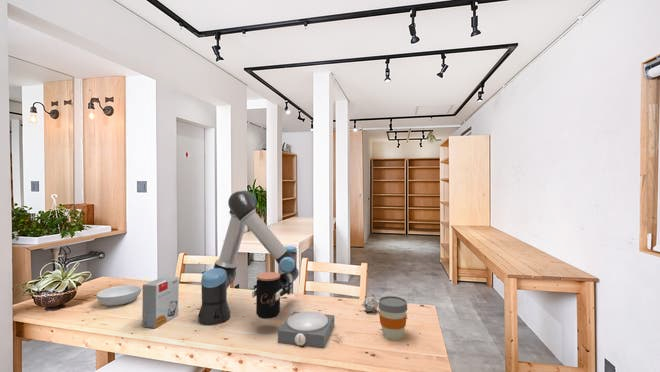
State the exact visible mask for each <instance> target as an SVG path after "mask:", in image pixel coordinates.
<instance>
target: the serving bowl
mask: <svg viewBox="0 0 660 372" xmlns="http://www.w3.org/2000/svg"><path fill="white" fill-rule="evenodd" d="M141 291H142V286H140V285H136V284H128V285H118V286H113V287H108V288H105V289H102V290H100V291H99V292H97V293H96V299H97V301H98V302H99V303H100V304H102V305H105V306H113V305H115V306H121V305H120V304H122V305H125V304H127V303H130V302H132V301H134V300H136V299H137V298H138V297H139V296H140V294H141Z"/></svg>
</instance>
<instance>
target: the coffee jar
mask: <svg viewBox="0 0 660 372" xmlns="http://www.w3.org/2000/svg"><path fill="white" fill-rule="evenodd" d="M279 278H280V273H279V272H274V271H266V272H265V271H264V272H261V273H258V274H256V285H257V293H256V296H255V297H256V298H255V299H256V300H255V301H256V303H255V305H256V306H255V309H256V310H255V313H256V315H257V317H258V318H260V319H262V320H263V319H264V320H269V319H274V318H276V317H278V315H279V314H280V312H281V297H280V298H279V299H278V300H276V293H277V292H278V291H279V290H280V279H279Z"/></svg>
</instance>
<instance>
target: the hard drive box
mask: <svg viewBox="0 0 660 372" xmlns="http://www.w3.org/2000/svg"><path fill="white" fill-rule="evenodd" d="M179 281H180V280H179V276H176V275H175V276H173V275H166V276H163V277H160V278H158V279H155V280H152V281H149V282H146V283H144V284H142V310H141V311H142V312H141V313H142V314H141V318H142V321H141V322H142V323H141V325H142V327H144V328H151V329H156V328H158V327H160V326H162V325H164V324H165V323H167V322H169V321H171V320H173V319H174V318H176V317H177V316H179V291H180V290H179V287H180V286H179Z"/></svg>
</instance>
